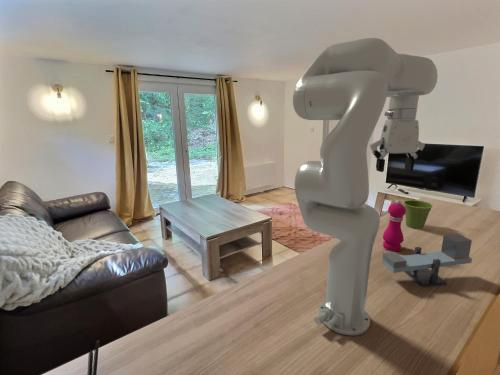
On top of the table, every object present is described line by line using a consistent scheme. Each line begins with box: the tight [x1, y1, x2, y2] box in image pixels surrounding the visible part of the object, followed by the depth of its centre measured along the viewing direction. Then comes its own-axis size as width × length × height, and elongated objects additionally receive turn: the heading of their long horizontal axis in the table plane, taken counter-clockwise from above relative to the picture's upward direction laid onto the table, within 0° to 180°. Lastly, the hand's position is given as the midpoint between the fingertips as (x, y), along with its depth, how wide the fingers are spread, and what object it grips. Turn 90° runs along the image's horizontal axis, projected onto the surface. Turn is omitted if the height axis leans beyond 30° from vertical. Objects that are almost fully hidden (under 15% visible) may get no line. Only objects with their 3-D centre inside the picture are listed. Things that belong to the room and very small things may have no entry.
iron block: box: [440, 233, 473, 260], centre depth 84 cm, size 5×5×6 cm
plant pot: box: [403, 199, 434, 230], centre depth 124 cm, size 12×12×11 cm
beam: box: [381, 250, 473, 274], centre depth 84 cm, size 26×6×4 cm, turn 97°
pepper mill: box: [382, 199, 406, 252], centre depth 103 cm, size 7×7×20 cm
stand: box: [403, 246, 448, 288], centre depth 85 cm, size 8×10×8 cm
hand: (394, 170), depth 85 cm, fingers open, 9 cm apart
